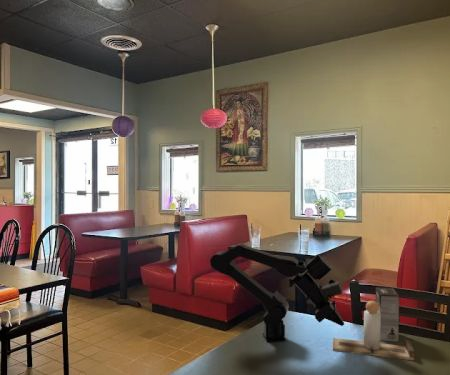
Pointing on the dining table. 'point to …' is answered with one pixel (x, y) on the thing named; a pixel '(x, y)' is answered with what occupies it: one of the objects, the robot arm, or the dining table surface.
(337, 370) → the dining table surface
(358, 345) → the level stand
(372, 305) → the post
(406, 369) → the dining table surface
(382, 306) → the coffee box
